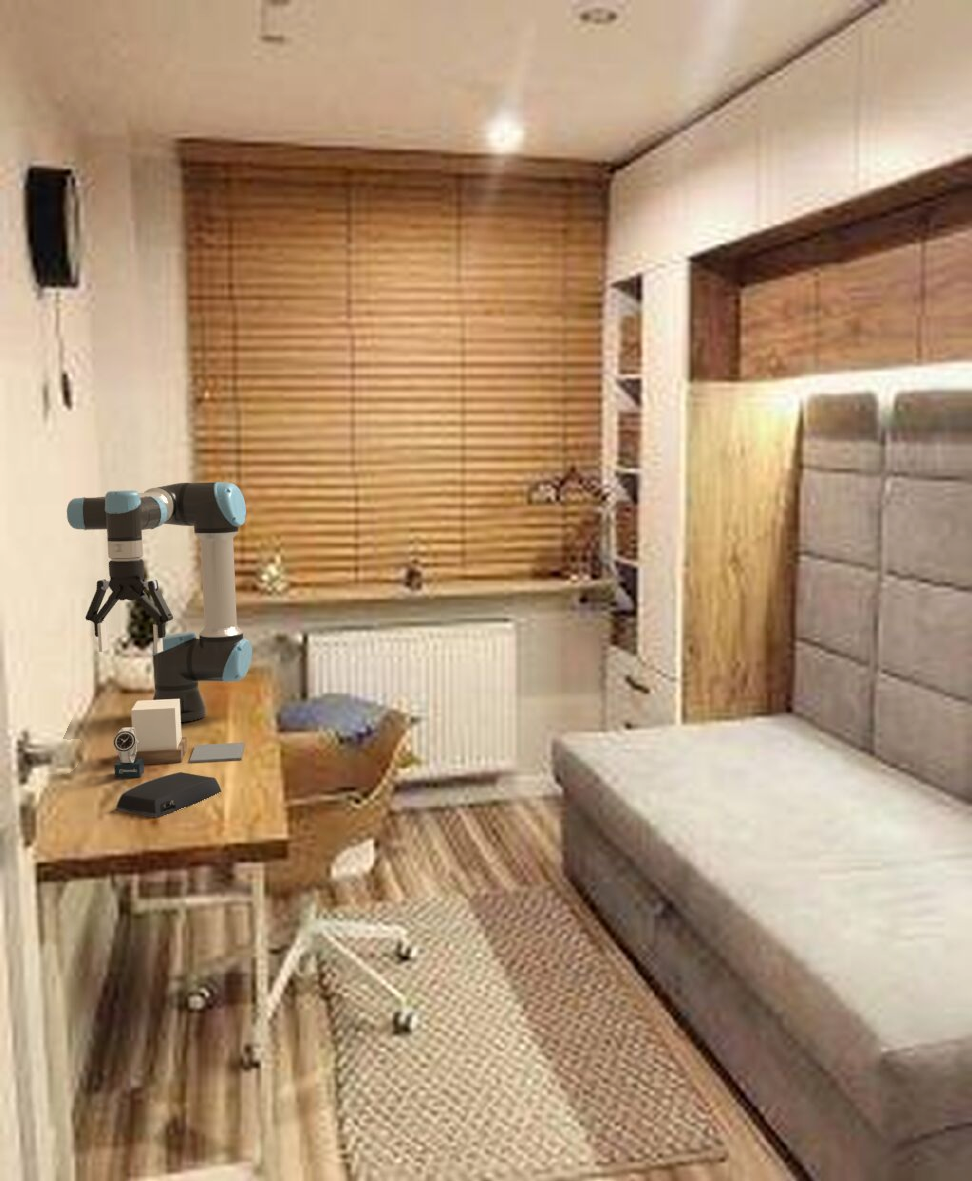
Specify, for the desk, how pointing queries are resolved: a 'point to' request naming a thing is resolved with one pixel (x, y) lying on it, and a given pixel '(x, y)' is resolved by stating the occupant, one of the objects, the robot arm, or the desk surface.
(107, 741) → the desk surface
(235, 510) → the robot arm
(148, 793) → the external hard drive
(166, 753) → the brown stepped block
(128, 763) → the watch
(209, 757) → the mat
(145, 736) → the off-white rounded cube
